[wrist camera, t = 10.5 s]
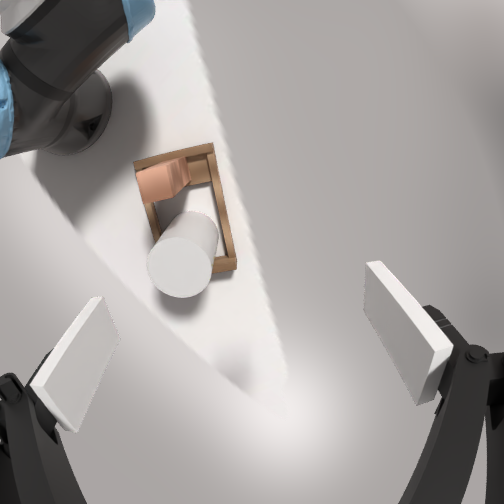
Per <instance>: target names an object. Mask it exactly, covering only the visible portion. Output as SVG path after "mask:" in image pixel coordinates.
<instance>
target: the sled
mask: <svg viewBox="0 0 504 504" xmlns="http://www.w3.org/2000/svg"><path fill="white" fill-rule="evenodd" d="M133 163H134V168H135V170H136V172H137V173H136V177H137V181H138V185H139V189H140V193H141V197H142V201H143V204H145V208H146V212H147V215H148V219H149V223H150V226H151V230H152V233H153V237H154V240H155V244H156V242H157V241H158V240H159V238H160V237H161V235H162V232H161V229H160V225H159V221H158V218H157V214H156V210H155V206H154V202H155V201H160V200H164V199H169V198H173V197H174V196H175V195H176V194H177V193H178V192H179V191H180V190H181V189H182V188H183V187H185V186H190V185H195V184H199V183H204V182H209V181H212V182H213V187H214V191H215V196H216V201H217V206H218V210H219V215H220V220H221V224H222V229H223V234H224V238H225V243H226V247H227V252H228V255H226V256H220V257H215V259H214V264H213V269H212V273H218V272H224V271H230V270H236V269H237V258H236V254H235V249H234V244H233V240H232V235H231V230H230V225H229V220H228V215H227V211H226V206H225V201H224V196H223V191H222V186H221V181H220V176H219V171H218V166H217V161H216V156H215V151H214V146H213V143H208V144H203V145H199V146H194V147H190V148H185V149H181V150H177V151H173V152H169V153H165V154H161V155H157V156H153V157H149V158H146V159H142V160H138V161H135V162H133Z"/></svg>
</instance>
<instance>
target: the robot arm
mask: <svg viewBox="0 0 504 504" xmlns="http://www.w3.org/2000/svg"><path fill="white" fill-rule="evenodd" d="M0 15H1V29H2V33H4V34H5V35H7V36H9V37H10V39H9V40H8V41H7V43H6V44H5V45H4V46H3V48H2V49H1V50H0V159H1V158H3V157H7V156H11V155H15V154H19V153H23V152H28V151H32V150H37V149H43V150H45V151H48V152H50V153H53V154H56V155H69V154H74V153H78V152H81V151H83V150H85V149H87V148H88V147H89V146H91V145H92V144H93V143H94V142H95V141H96V140H97V139H98V138H99V137H100V135H101V134H102V132H103V131H104V129H105V127H106V125H107V122H108V120H109V117H110V113H111V107H112V95H111V89H110V86H109V83H108V81H107V79H106V78H105V76H104V75H103V74H102V73H101V72H100V71H99V70H97V69H98V68H99V67H100V66H101V65H102V64H103V63H104V62H105V61H106V60H107V59H108V58H109V57H111V56H112V55H113V54H114V53H115V52H116V51H117V50H118V49H119V48H121V47H122V46H123V45H124V44H125V43H129V42H130V41H131V40H132V39H133V37H134V36H135V35H136V34H137V33H138V32H139V31H141V30H142V29H143V28H144V27H145V26H146V25H148V24H149V23H150V22H151V21H152V19H153V18H154V15H155V3H154V1H153V0H0ZM364 312H365V314H366V316H367V317H368V319H369V321H370V322H371V324H372V326H373V328H374V329H375V331H376V333H377V334H378V336H379V338H380V339H381V341H382V343H383V345H384V347H385V348H386V350H387V352H388V354H389V356H390V357H391V359H392V361H393V363H394V364H395V366H396V368H397V370H398V372H399V374H400V375H401V377H402V379H403V381H404V383H405V385H406V387H407V388H408V391H409V393H410V394H411V396H412V398H413V400H414V402H415V404H416V406H418V405H420V404H423V403H426V402H429V401H432V400H434V398H435V395H436V393H437V390H439V392H440V394H441V396H442V398H441V400H440V403H439V405H438V407H437V409H436V411H435V414H436V416H435V419H434V422H433V425H432V428H431V430H430V433H429V436H428V439H427V442H426V444H425V447H424V449H423V452H422V454H421V457H420V459H419V461H418V464H417V466H416V468H415V470H414V473H413V475H412V477H411V479H410V481H409V483H408V486H407V488H406V490H405V492H404V494H403V496H402V498H401V500H400V501H399V503H398V504H461V502H462V499H463V497H464V494H465V491H466V488H467V485H468V482H469V478H470V475H471V472H472V469H473V465H474V461H475V458H476V454H477V450H478V446H479V441H480V437H481V432H482V427H483V421H484V416H485V420H486V436H487V483H486V484H487V485H486V499H485V504H504V352H502V353H493V354H489V352H488V351H487V350H486V349H485V348H483V347H481V346H478V345H469V344H468V343H467V341H466V340H465V339H464V338H463V337H462V336H461V334H460V333H459V332H458V331H457V330H456V329H455V327H454V326H453V325H451V323H450V322H449V321H448V319H446V317H445V316H444V315H443V314H442V313H441V312H440V310H438V309H436V308H434V307H432V306H431V305H428V306H424V307H421V305H420V304H419V303H418V302H417V301H416V300H415V299H414V297H413V296H412V295H411V294H410V293H409V292H408V291H407V289H406V288H405V287H404V286H403V285H402V284H401V283H400V282H399V281H398V280H397V278H396V277H395V276H394V275H393V274H392V273H391V272H390V271H389V270H388V269H387V268H386V266H385V265H384V264H383V263H382V262H381V261H373V262H367V263H366V270H365V295H364ZM119 341H120V336H119V334H118V331H117V329H116V327H115V324H114V322H113V320H112V317H111V315H110V312H109V310H108V307H107V305H106V302H105V300H104V297H103V296H102V297H92V298H91V299H90V300H89V302H88V303H87V304H86V305H85V307H84V308H83V309H82V311H81V312H80V313H79V315H78V316H77V317H76V319H75V320H74V321H73V323H72V324H71V325H70V327H69V328H68V330H67V331H66V332H65V334H64V335H63V336H62V338H61V339H60V341H59V342H58V344H57V345H56V346H55V348H53V349H52V350H51V351H50V352H49V353H48V354H47V355H46V356H45V357H44V359H43V360H42V362H41V364H40V365H39V366H38V369H36V371H35V372H34V374H33V375H32V377H31V378H30V380H29V381H28V383H27V384H26V386H25V387H24V386H23V385H22V384H21V382H20V381H19V379H18V378H17V376H16V375H15V374H14V373H7V374H4V375H2V376H1V377H0V398H1V399H2V400H1V401H0V439H1V442H0V504H87V503H86V501H85V499H84V496H83V494H82V492H81V490H80V488H79V485H78V483H77V481H76V478H75V476H74V474H73V471H72V469H71V466H70V464H69V461H68V458H67V456H66V453H65V450H64V447H63V444H62V441H61V438H60V436H59V432H58V431H57V429H56V428H55V425H56V423H57V422H58V423H59V424H60V426H61V427H62V428H63V429H64V430H66V431H72V432H78V431H79V428H80V426H81V423H82V421H83V419H84V416H85V414H86V411H87V409H88V407H89V405H90V403H91V400H92V398H93V396H94V393H95V392H96V389H97V387H98V385H99V383H100V381H101V378H102V376H103V374H104V372H105V370H106V368H107V366H108V364H109V362H110V360H111V358H112V356H113V354H114V352H115V349H116V347H117V345H118V343H119Z"/></svg>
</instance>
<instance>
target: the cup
mask: <svg viewBox="0 0 504 504" xmlns="http://www.w3.org/2000/svg"><path fill="white" fill-rule="evenodd" d="M218 239H219V234H218V229H217V226H216V224H215V223H214V221H213V220H212V219H211V218H210V217H209V216H207V215H206V214H204V213H202V212H198V211H186V212H183V213H181V214H179V215H177V216H176V217H175V218H174V219H173V220H172V222H171V223H170V224H169V226H168V227H167V228H166V230H165V231H164V233H163V234H162V235H161V237H160V238H159V240H158V241H157V242H156V244H155V245H154V247H153V248H152V249H151V251H150V253H149V255H148V258H147V271H148V275H149V277H150V279H151V281H152V282H153V284H154V285H155V286H156V287H157V288H158V289H159V290H161V291H162V292H163V293H165V294H167V295H170V296H173V297H178V298H186V297H191V296H194V295H197V294H198V293H200V292H201V291H203V290H204V289H205V287H206V286H207V285H208V283H209V281H210V278H211V274H212V269H213V264H214V259H215V254H216V249H217V244H218Z"/></svg>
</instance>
